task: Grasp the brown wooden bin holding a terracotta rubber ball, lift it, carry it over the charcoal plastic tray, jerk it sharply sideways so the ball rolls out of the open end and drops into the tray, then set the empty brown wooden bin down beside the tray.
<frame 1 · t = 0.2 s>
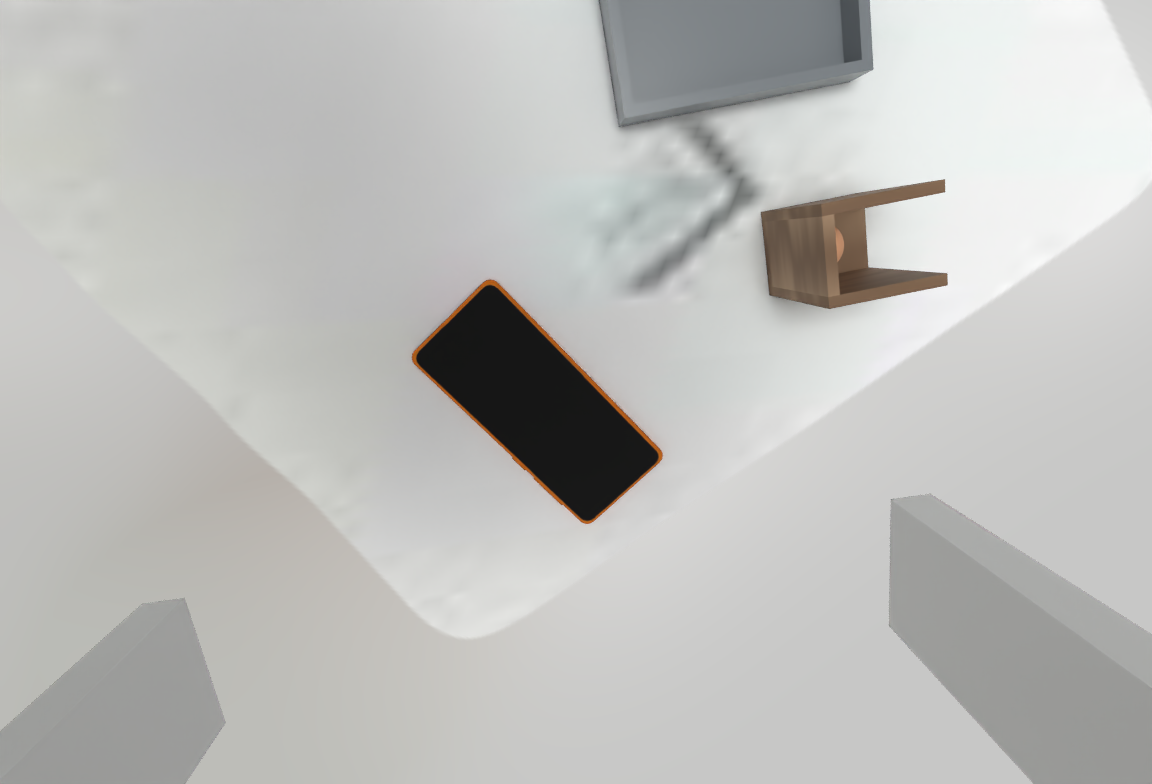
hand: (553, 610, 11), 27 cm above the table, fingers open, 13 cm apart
brown wooden bin: (813, 244, 37), on the table, touching ball
smartphone: (541, 405, 39), on the table
ball: (805, 247, 36), point 1 cm above the table, touching brown wooden bin
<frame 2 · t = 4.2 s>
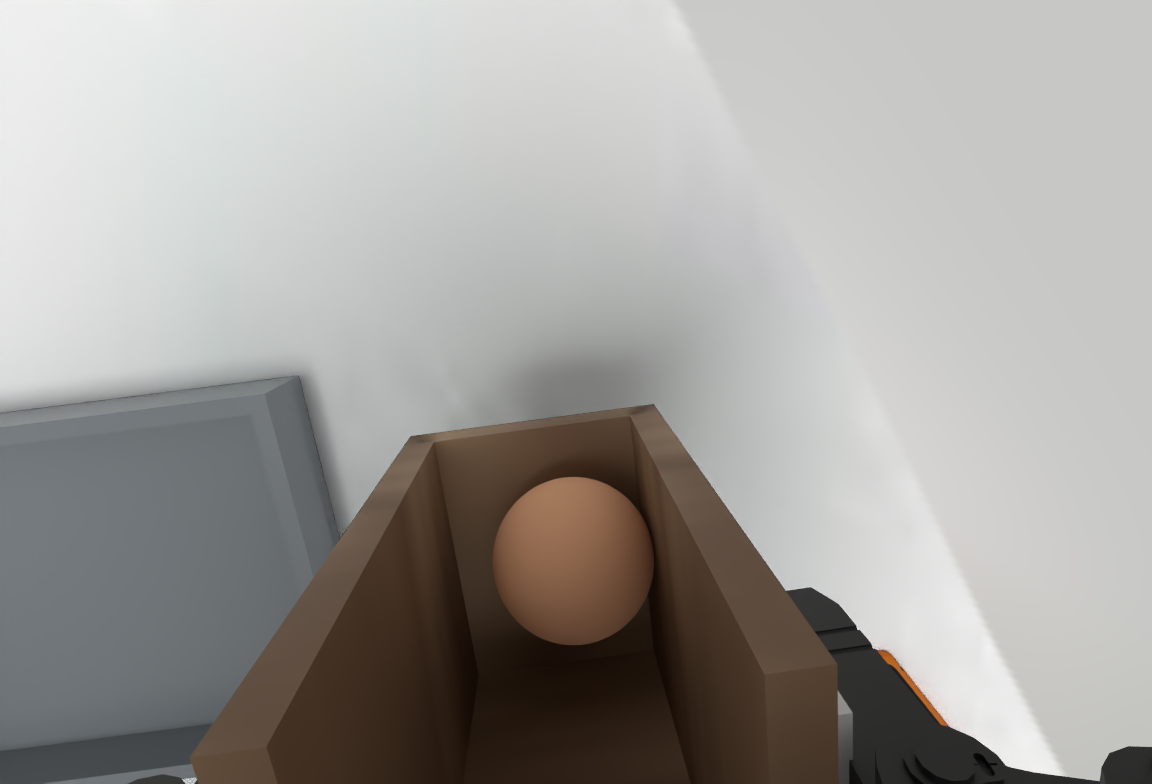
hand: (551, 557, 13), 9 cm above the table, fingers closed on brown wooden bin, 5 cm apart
brown wooden bin: (551, 550, 13), point 8 cm above the table, touching ball, gripper
ball: (568, 606, 12), point 10 cm above the table, tilted 70°, touching brown wooden bin
tray: (107, 582, 22), on the table
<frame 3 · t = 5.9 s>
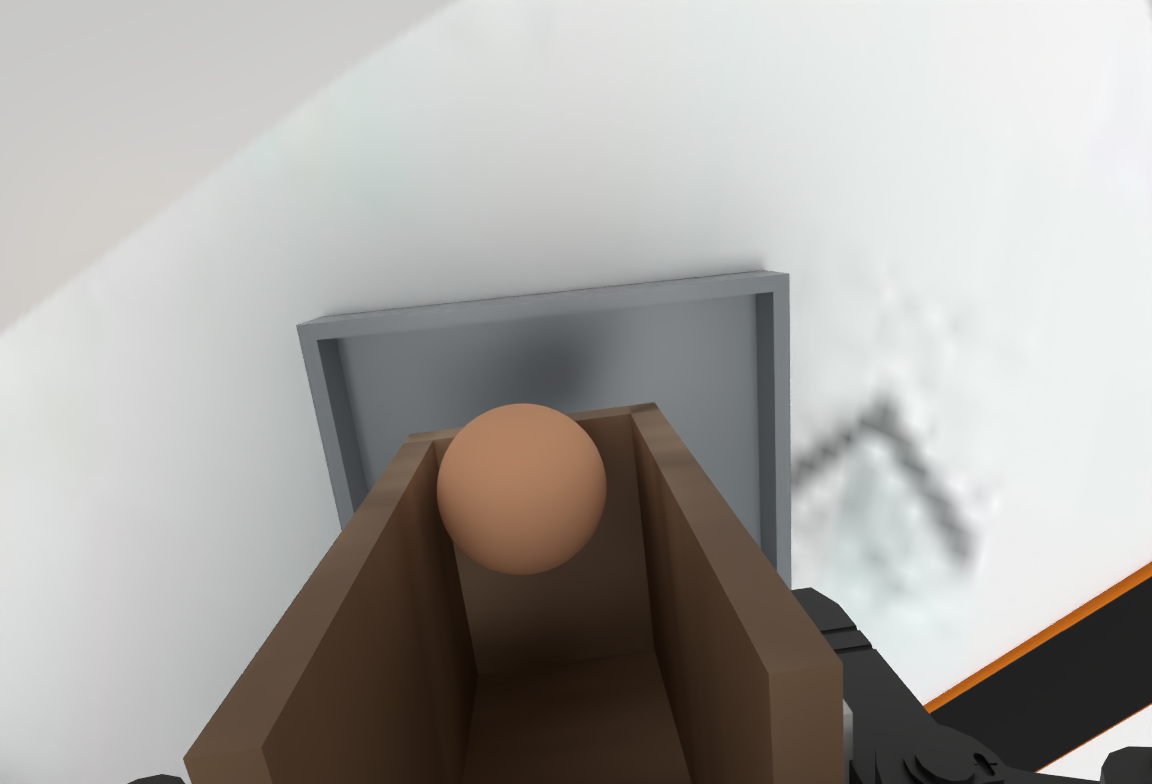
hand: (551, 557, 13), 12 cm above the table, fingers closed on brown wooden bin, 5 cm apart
brown wooden bin: (551, 549, 13), point 12 cm above the table, touching ball, gripper
smartphone: (1071, 667, 30), on the table
ball: (535, 573, 10), point 15 cm above the table, tilted 124°, touching brown wooden bin
tray: (563, 455, 25), on the table
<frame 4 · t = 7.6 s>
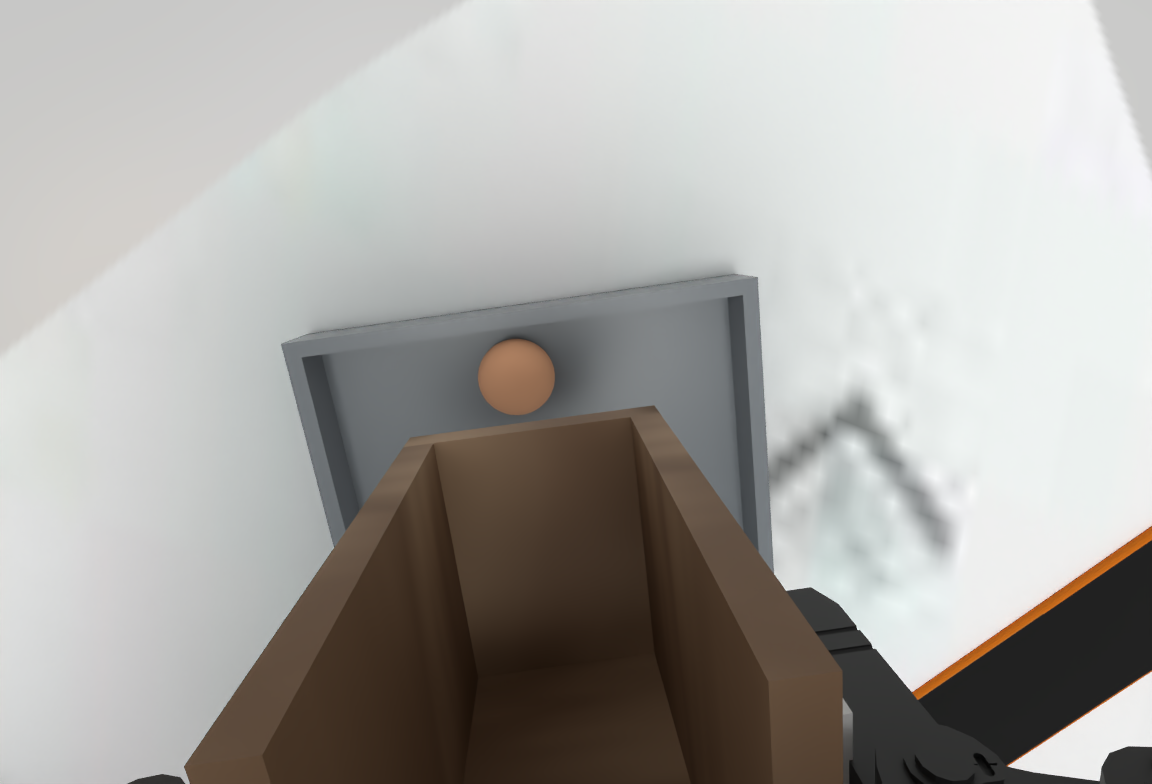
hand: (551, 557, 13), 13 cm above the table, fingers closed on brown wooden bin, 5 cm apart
brown wooden bin: (551, 552, 13), point 13 cm above the table, touching gripper
smartphone: (1053, 650, 31), on the table
ball: (527, 372, 24), point 1 cm above the table, tilted 17°, touching tray
tray: (547, 460, 26), on the table
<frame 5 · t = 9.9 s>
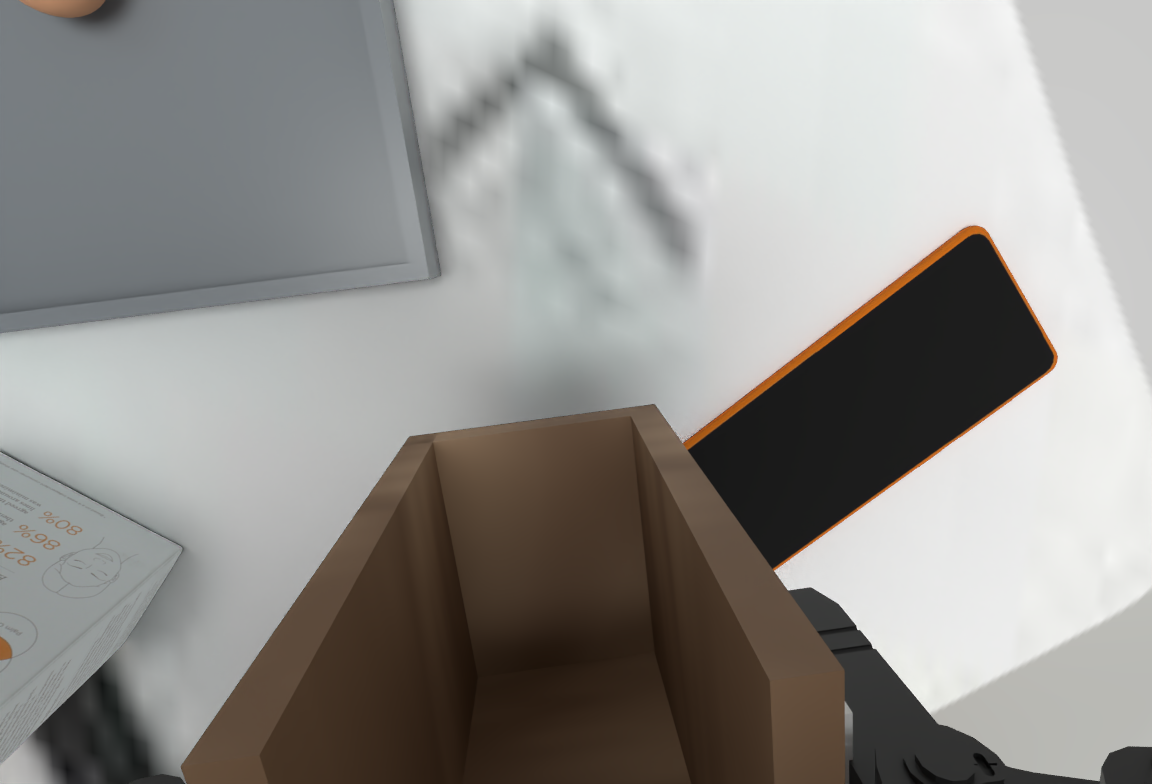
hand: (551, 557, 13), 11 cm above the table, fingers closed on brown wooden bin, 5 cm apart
brown wooden bin: (551, 551, 13), point 11 cm above the table, touching gripper
small box: (70, 546, 24), on the table
smartphone: (843, 414, 25), on the table
tray: (145, 103, 20), on the table
when the fingers open (0 cm above the table, at t = 11.3 s): brown wooden bin stays where it is, on the table.
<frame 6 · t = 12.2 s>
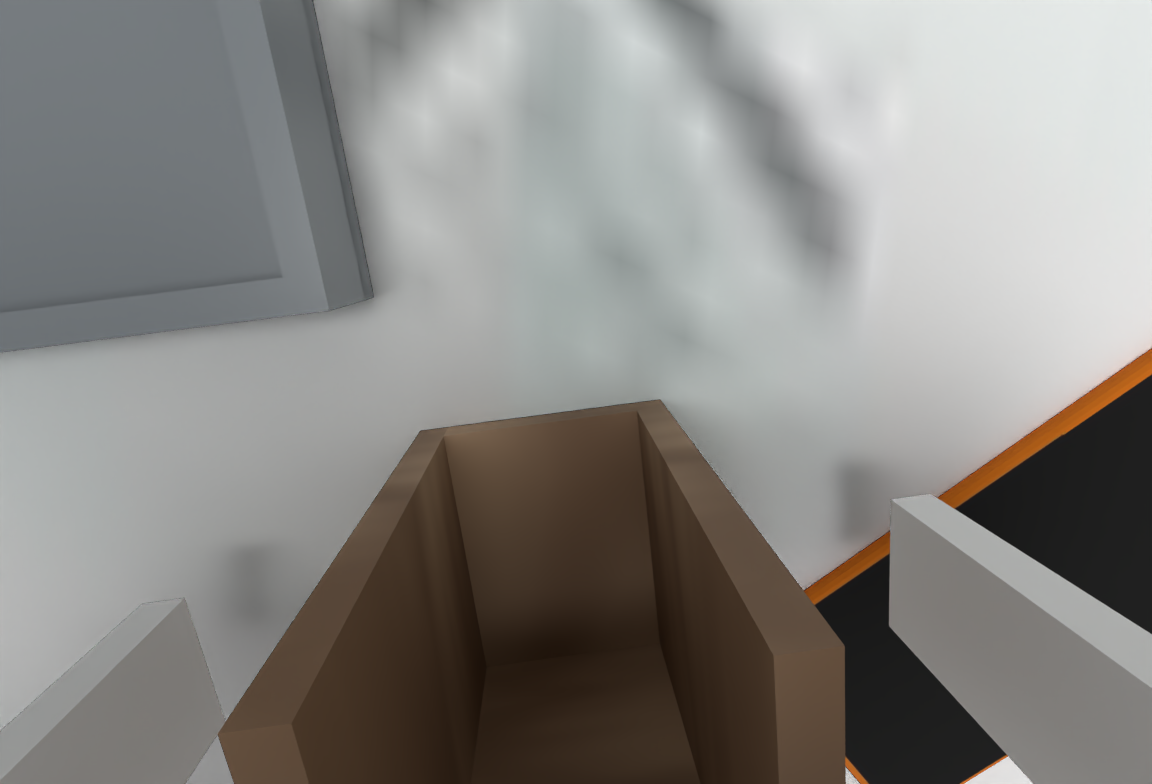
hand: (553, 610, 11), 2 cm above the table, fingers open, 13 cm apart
brown wooden bin: (559, 544, 13), on the table
smartphone: (1081, 533, 15), on the table
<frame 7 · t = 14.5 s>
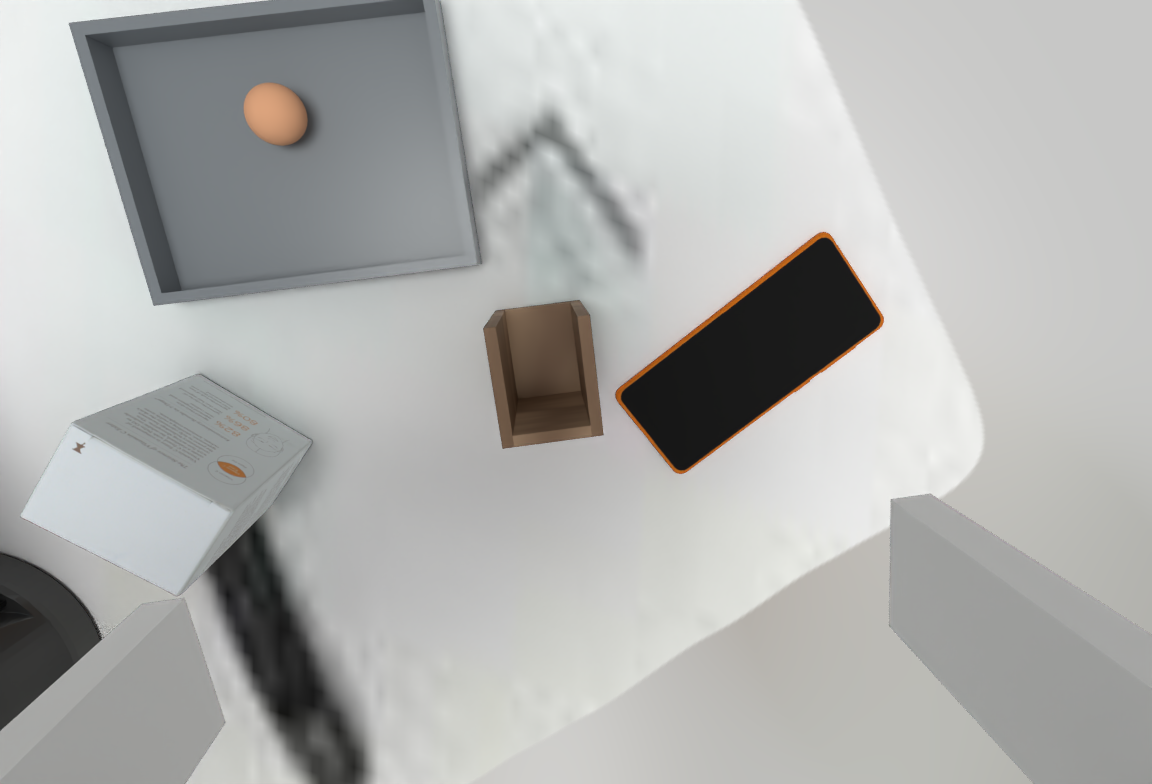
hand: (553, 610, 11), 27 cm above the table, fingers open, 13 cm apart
brown wooden bin: (544, 354, 37), on the table
small box: (239, 440, 37), on the table
smartphone: (745, 356, 38), on the table
ball: (272, 83, 30), point 2 cm above the table, tilted 87°, touching tray
tray: (304, 158, 33), on the table
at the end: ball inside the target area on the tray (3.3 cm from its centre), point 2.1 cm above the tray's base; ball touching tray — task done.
